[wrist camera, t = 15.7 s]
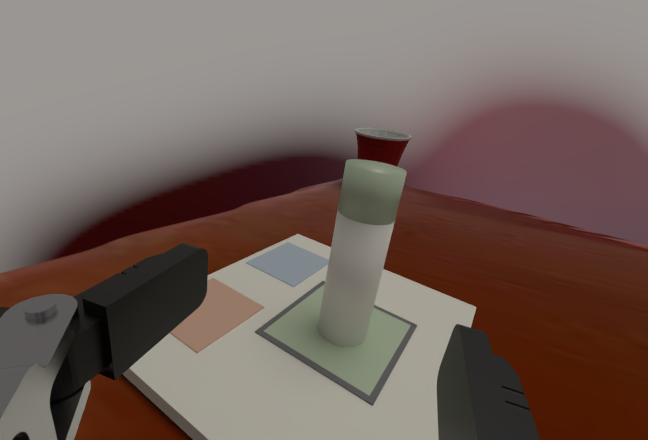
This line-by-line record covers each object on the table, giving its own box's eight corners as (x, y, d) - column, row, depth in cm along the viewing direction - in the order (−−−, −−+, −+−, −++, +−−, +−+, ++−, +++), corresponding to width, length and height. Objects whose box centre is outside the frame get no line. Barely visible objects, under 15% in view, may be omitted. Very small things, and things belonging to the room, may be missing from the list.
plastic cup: (333, 185, 65) (343, 124, 61) (366, 181, 73) (377, 126, 68) (376, 202, 58) (391, 135, 54) (407, 196, 66) (422, 136, 61)
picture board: (472, 316, 29) (476, 306, 29) (385, 618, 11) (392, 603, 11) (296, 241, 38) (297, 233, 38) (89, 343, 20) (87, 329, 20)
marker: (374, 327, 24) (414, 170, 20) (353, 355, 21) (394, 178, 17) (333, 306, 26) (361, 157, 21) (308, 330, 23) (335, 162, 18)
